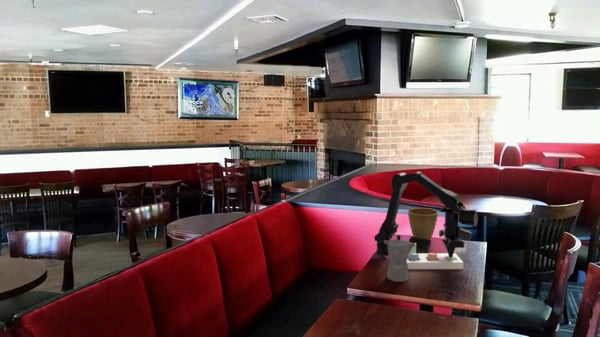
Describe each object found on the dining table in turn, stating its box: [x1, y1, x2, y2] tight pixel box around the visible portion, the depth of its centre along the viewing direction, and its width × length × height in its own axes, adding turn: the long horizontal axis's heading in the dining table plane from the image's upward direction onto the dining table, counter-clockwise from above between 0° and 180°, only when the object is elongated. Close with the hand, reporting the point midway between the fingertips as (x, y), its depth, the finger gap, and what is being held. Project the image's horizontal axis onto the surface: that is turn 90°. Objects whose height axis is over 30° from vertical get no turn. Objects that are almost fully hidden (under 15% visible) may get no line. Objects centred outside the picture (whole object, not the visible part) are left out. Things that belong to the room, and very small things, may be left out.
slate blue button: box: [409, 253, 419, 261], centre depth 205 cm, size 4×4×4 cm
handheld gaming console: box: [408, 235, 432, 253], centre depth 225 cm, size 12×7×10 cm
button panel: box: [407, 243, 464, 270], centre depth 205 cm, size 24×12×8 cm, turn 87°
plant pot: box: [407, 207, 439, 241], centre depth 238 cm, size 15×15×16 cm
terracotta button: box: [428, 252, 437, 260], centre depth 204 cm, size 4×4×4 cm
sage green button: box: [446, 256, 456, 260], centre depth 204 cm, size 4×4×4 cm
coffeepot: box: [376, 234, 415, 283], centre depth 190 cm, size 15×9×18 cm, turn 75°
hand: (450, 257), depth 204 cm, fingers closed, pressing on sage green button
